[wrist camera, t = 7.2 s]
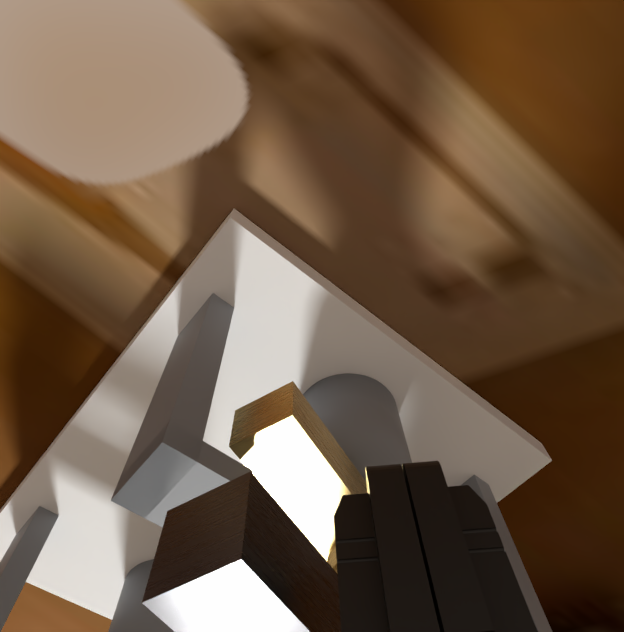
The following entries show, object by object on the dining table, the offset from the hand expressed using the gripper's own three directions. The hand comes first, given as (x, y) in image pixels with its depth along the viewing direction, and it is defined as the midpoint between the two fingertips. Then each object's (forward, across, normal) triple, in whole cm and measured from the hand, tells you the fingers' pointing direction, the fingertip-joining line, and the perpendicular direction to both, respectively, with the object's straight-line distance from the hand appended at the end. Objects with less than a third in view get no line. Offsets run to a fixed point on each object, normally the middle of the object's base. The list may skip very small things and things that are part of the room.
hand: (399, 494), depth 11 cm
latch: (+5, +1, +5) cm, 8 cm away
